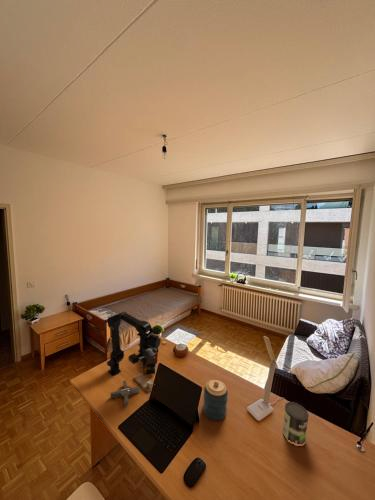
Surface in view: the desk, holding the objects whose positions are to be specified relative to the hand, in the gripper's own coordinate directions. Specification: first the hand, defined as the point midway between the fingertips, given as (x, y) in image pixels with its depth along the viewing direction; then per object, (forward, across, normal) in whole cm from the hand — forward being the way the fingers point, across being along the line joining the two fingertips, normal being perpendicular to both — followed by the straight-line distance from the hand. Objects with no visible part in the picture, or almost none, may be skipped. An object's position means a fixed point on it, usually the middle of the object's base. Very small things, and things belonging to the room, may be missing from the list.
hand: (143, 366), depth 130 cm
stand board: (+12, +1, 0) cm, 12 cm away
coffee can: (+13, +36, -78) cm, 87 cm away
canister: (+13, +18, -42) cm, 48 cm away
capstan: (+12, -12, 0) cm, 17 cm away
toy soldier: (+12, +15, +16) cm, 25 cm away
